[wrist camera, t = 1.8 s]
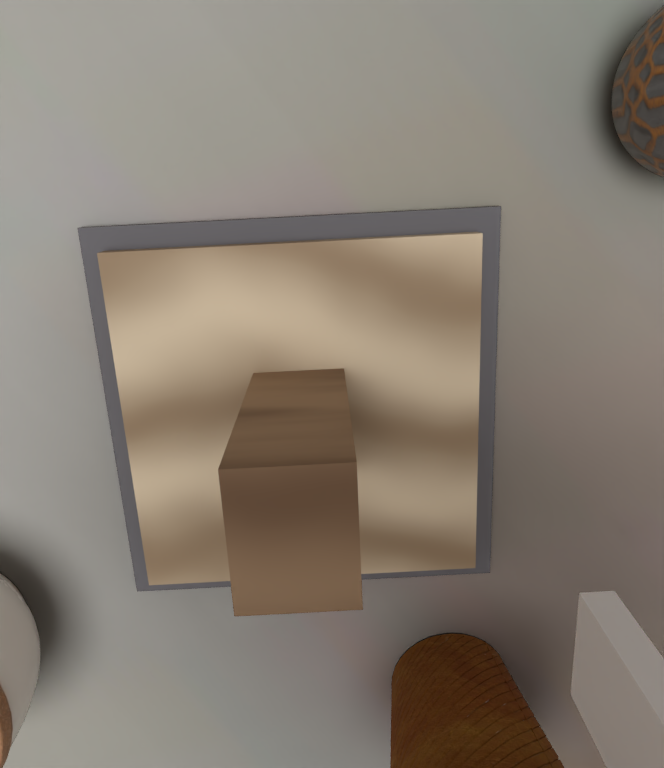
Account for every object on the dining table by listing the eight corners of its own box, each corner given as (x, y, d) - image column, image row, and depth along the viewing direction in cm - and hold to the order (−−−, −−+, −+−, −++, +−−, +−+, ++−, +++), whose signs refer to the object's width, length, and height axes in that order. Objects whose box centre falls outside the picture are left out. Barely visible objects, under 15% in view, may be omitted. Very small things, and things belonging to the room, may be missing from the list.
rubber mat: (487, 568, 32) (489, 572, 32) (139, 586, 32) (137, 591, 32) (498, 206, 27) (500, 206, 27) (81, 227, 27) (77, 227, 27)
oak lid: (470, 556, 32) (545, 738, 21) (154, 573, 32) (71, 764, 21) (476, 231, 27) (577, 257, 16) (104, 250, 27) (-33, 289, 16)
